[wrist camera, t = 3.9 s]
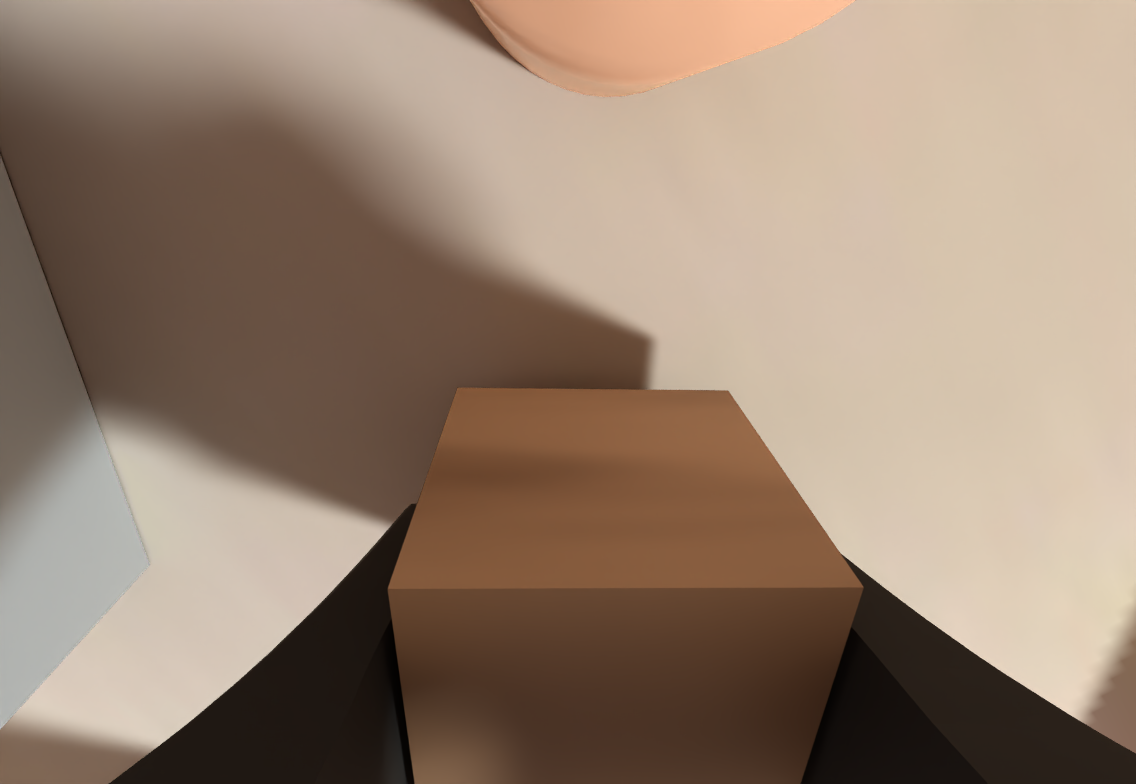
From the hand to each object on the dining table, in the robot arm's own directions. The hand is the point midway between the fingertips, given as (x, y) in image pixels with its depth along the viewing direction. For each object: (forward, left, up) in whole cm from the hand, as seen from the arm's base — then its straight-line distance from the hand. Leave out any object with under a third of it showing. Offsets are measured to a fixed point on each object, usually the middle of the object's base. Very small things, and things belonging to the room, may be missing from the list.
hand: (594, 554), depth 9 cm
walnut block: (0, 0, -1) cm, 1 cm away
